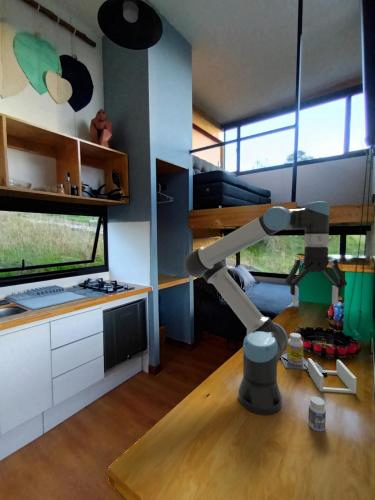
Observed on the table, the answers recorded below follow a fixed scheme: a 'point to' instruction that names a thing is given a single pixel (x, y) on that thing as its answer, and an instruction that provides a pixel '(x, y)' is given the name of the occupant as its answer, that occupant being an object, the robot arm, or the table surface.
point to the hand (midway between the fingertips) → (314, 304)
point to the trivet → (292, 366)
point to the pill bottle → (317, 414)
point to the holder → (340, 371)
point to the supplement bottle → (295, 349)
